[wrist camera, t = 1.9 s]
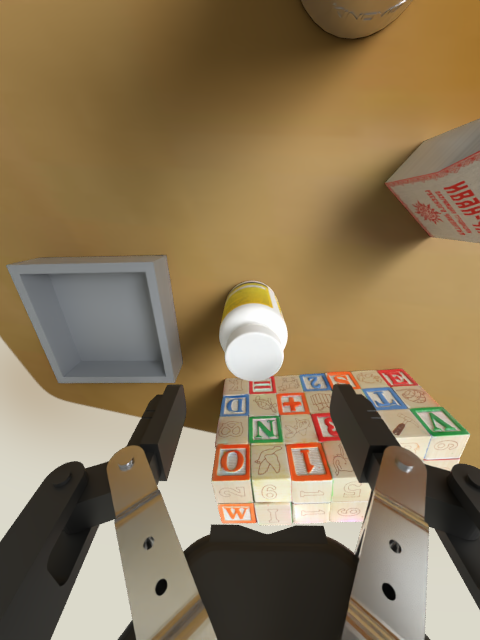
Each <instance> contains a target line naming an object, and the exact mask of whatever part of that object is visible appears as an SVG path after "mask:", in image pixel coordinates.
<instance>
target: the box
mask: <svg viewBox="0 0 480 640" xmlns="http://www.w3.org/2000/svg"><path fill="white" fill-rule="evenodd" d="M6 266H7V268H8V271H9V273H10V275H11V277H12V280H13V282H14V284H15V286H16V289H17V291H18V293H19V295H20V298H21V300H22V302H23V304H24V306H25V309H26V311H27V313H28V315H29V318H30V320H31V322H32V324H33V327H34V329H35V331H36V333H37V336H38V338H39V340H40V342H41V345H42V347H43V349H44V351H45V354H46V356H47V358H48V360H49V363H50V365H51V367H52V369H53V371H54V374H55V376H56V378H57V380H58V383H175V381H176V379H177V376H178V374H179V371H180V369H181V367H182V364H183V360H182V354H181V347H180V341H179V334H178V328H177V321H176V315H175V308H174V302H173V295H172V289H171V282H170V276H169V269H168V263H167V256H166V255H146V256H99V257H52V258H36V259H32V260H27V261H22V262H18V263H13V264H8V265H6Z"/></svg>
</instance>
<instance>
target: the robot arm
mask: <svg viewBox="0 0 480 640" xmlns="http://www.w3.org/2000/svg"><path fill="white" fill-rule="evenodd" d="M301 1H302V3H303V6H304V8H305V9H306V11H307V12H308V14H309V15H310V16H311V18H312V19H313V21H314V22H315V23H316V24H318V25H319V26H320V27H321V28H322V29H324V30H325V31H326V32H328V33H330V34H333V35H335V36H337V37H341V38H351V39H354V38H359V37H364V36H369V35H371V34H373V33H375V32H377V31H379V30H381V29H383V28H384V27H386V26H387V25H388V24H390V23H391V22H392V21H394V20H395V19H396V18H397V17H398V16H399V15H400V14H401V13H402V12H403V11H404V10H405V9H406V8H407V6H408V5H409V4H410V3H411V2H412V1H413V0H301ZM330 416H331V419H332V421H333V424H334V426H335V428H336V431H337V433H338V435H339V438H340V440H341V442H342V445H343V447H344V449H345V452H346V454H347V456H348V459H349V461H350V463H351V466H352V468H353V470H354V473H355V475H356V478H357V480H358V482H359V483H368V484H369V486H370V488H371V492H370V496H369V500H368V504H367V508H366V511H365V515H364V519H363V523H362V527H361V531H360V535H359V538H358V542H357V545H356V549H355V552H354V553H353V552H352V551H351V550H349V549H348V548H347V547H345V546H344V545H342V544H341V543H339V542H338V541H336V540H333V539H331V538H329V537H326V534H325V530H324V527H323V526H293V527H290V528H287V529H284V530H281V531H278V532H275V533H272V534H264V533H261V532H258V531H255V530H252V529H249V528H246V527H243V526H240V525H211V532H210V535H207V536H205V537H203V538H201V539H199V540H197V541H196V542H194V543H193V544H191V545H190V546H189V547H188V548H187V549H186V550H185V551H184V552H183V550H182V548H181V545H180V543H179V540H178V537H177V535H176V532H175V529H174V527H173V524H172V521H171V519H170V516H169V514H168V511H167V508H166V506H165V503H164V500H163V498H162V495H161V493H160V491H159V490H158V488H157V485H158V482H159V481H167V478H168V475H169V471H170V468H171V465H172V461H173V458H174V455H175V451H176V448H177V445H178V441H179V438H180V435H181V431H182V428H183V425H184V421H185V418H186V401H185V395H184V389H183V385H167V387H166V389H165V391H164V393H163V395H156V396H155V397H154V398H153V399H152V400H151V401H150V402H149V404H148V406H147V408H146V410H145V412H144V414H143V416H142V419H141V420H140V421H139V423H138V425H137V427H136V429H135V431H134V433H133V435H132V437H131V439H130V441H129V443H128V445H127V446H126V447H125V448H122V449H121V450H119V451H118V452H116V453H115V454H114V455H113V456H112V458H111V459H110V460H109V461H108V462H106V463H103V464H99V465H96V466H92V467H89V468H84V466H83V464H82V463H80V462H77V461H74V462H69V463H66V464H63V465H61V466H60V467H58V468H56V469H55V470H54V471H52V472H51V473H50V474H49V475H48V476H47V477H46V478H45V480H44V481H43V482H42V484H41V485H40V487H39V488H38V489H37V491H36V492H35V494H34V495H33V497H32V498H31V499H30V501H29V502H28V504H27V505H26V506H25V508H24V509H23V511H22V512H21V513H20V515H19V517H18V518H17V519H16V521H15V522H14V524H13V525H12V526H11V528H10V529H9V530H8V532H7V533H6V535H5V536H4V538H3V539H2V540H1V542H0V640H50V639H51V637H52V634H53V632H54V630H55V628H56V625H57V623H58V621H59V618H60V616H61V614H62V611H63V609H64V606H65V604H66V602H67V599H68V597H69V595H70V592H71V590H72V588H73V585H74V583H75V580H76V578H77V576H78V573H79V571H80V569H81V567H82V564H83V562H84V560H85V557H86V555H87V553H88V550H89V548H90V545H91V543H92V541H93V538H94V536H95V534H96V531H97V529H98V527H99V524H102V523H105V522H108V521H110V520H113V519H115V529H116V534H117V539H118V544H119V550H120V555H121V560H122V566H123V571H124V576H125V581H126V587H127V592H128V598H129V603H130V608H131V614H132V619H133V620H132V621H131V622H130V624H129V625H128V626H127V628H126V629H125V631H124V632H123V633H122V635H121V636H120V637H119V639H118V640H430V639H429V638H428V636H426V634H425V613H426V590H427V587H426V586H427V566H428V564H427V563H428V541H429V527H432V528H435V530H436V532H437V534H438V536H439V538H440V539H441V541H442V543H443V545H444V547H445V548H446V550H447V552H448V554H449V556H450V557H451V559H452V561H453V563H454V564H455V566H456V568H457V570H458V571H459V573H460V575H461V577H462V579H463V580H464V582H465V584H466V586H467V588H468V590H469V591H470V593H471V595H472V596H473V599H474V600H475V602H476V604H477V606H478V608H479V609H480V469H478V468H476V467H473V466H471V465H467V464H456V465H454V466H453V467H452V469H451V471H448V470H445V469H441V468H437V467H434V466H430V465H427V464H424V463H423V462H422V460H421V459H420V458H419V457H418V456H417V455H415V454H414V453H413V452H411V451H409V450H408V449H405V448H403V447H401V445H400V444H399V442H398V441H397V439H396V438H395V436H394V435H393V434H392V432H391V431H390V429H389V428H388V426H387V425H386V423H385V422H384V420H383V419H381V416H380V414H379V413H378V412H377V411H376V409H375V407H374V406H373V404H372V403H371V401H369V400H368V399H367V398H366V397H364V396H363V395H362V394H356V392H355V391H354V389H353V388H352V386H351V385H350V384H334V385H333V390H332V396H331V401H330Z"/></svg>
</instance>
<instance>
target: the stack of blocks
mask: <svg viewBox="0 0 480 640" xmlns="http://www.w3.org/2000/svg"><path fill="white" fill-rule="evenodd" d="M334 384H350V385H351V386H352V388H353V389H354V391H355V392H356V394H362V395H363V396H364V397H366V398H367V399H368V400H369V401H371V403H372V404H373V406H374V407H375V409H376V411H377V412H378V413H379V414H380V416H381V419H383V420H384V422H385V423H386V425H387V426H388V428H389V429H390V431H391V432H392V434H393V435H394V436H395V438H396V439H397V441H398V442H399V444H400V445H401V447H403V448H405V449H408V450H409V451H411V452H413V453H414V454H415V455H417V456H418V457H419V458H420V459H421V460H422V462H423V463H424V464H427V465H430V466H434V467H437V468H441V469H445V470H448V471H451V469H452V467H453V466H454V465H456V464H458V463H459V461H460V458H459V457H460V456H461V454H462V452H463V450H464V448H465V445H466V443H467V441H468V438H469V436H470V434H469V433H468V431H467V430H466V429H465V428H464V427H463V426H462V425H461V424H460V423H459V422H458V421H457V420H456V419H454V418H453V417H452V416H451V415H450V414H449V413H448V412H447V411H446V410H445V409H444V408H443V407H440V405H439V404H438V403H437V402H436V401H435V400H434V399H433V398H432V397H431V396H430V395H429V394H428V393H427V392H426V391H425V390H424V389H423V388H422V387H421V386H419V385H418V384H417V383H416V382H415V381H414V380H413V379H412V378H411V377H410V376H409V375H408V374H407V373H406V372H405V371H404V370H403V369H392V370H378V371H376V370H366V371H352V372H331V373H325V374H323V373H321V374H305V375H291V376H276V377H274V376H271V377H270V378H267V379H265V380H261V381H247V380H243V379H241V378H229V379H225V383H224V390H223V399H222V405H221V411H220V418H219V421H218V427H217V434H216V442H215V447H216V453H215V460H214V467H213V474H212V485H213V489H214V493H215V498H216V502H217V503H218V510H219V514H220V517H221V521H222V523H256V522H257V523H258V525H291V524H292V523H293V522H294V523H296V524H300V523H326V522H328V521H331V522H357V521H363V519H364V515H365V511H366V508H367V504H368V500H369V496H370V492H371V488H370V486H369V484H368V483H359V482H358V480H357V478H356V475H355V473H354V470H353V468H352V466H351V463H350V461H349V459H348V456H347V454H346V452H345V449H344V447H343V445H342V442H341V440H340V438H339V435H338V433H337V431H336V428H335V426H334V424H333V421H332V419H331V416H330V401H331V396H332V390H333V385H334Z"/></svg>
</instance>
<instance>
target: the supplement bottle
mask: <svg viewBox="0 0 480 640" xmlns="http://www.w3.org/2000/svg"><path fill="white" fill-rule="evenodd" d="M287 335H288V334H287V328H286V324H285V321H284V318H283V315H282V312H281V309H280V306H279V303H278V300H277V298H276V295H275V294H274V292H273V291H272V289H271V288H270V287H268V286H267V285H265V284H264V283H261V282H258V281H246V282H243V283H240V284H238V285H237V286H235V287H234V288H233V289H232V290H231V292H230V293H229V295H228V297H227V299H226V303H225V307H224V312H223V316H222V321H221V325H220V332H219V339H220V344H221V346H222V349H223V350H224V352H225V362H226V365H227V367H228V369H229V370H230V371H231V372H232V373H233V374H234V375H235V376H237V377H238V378H241V379H243V380H247V381H261V380H265V379H267V378H270V377H271V376H273V375H274V374H275V373H277V372H278V370H279V369H280V367H281V366H282V363H283V358H284V353H283V350H284V348H285V346H286V343H287Z"/></svg>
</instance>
